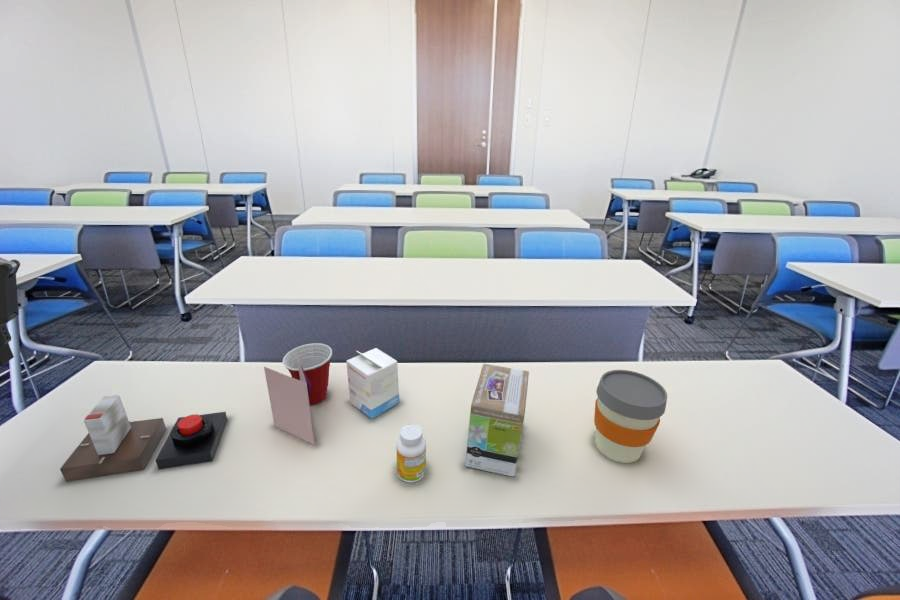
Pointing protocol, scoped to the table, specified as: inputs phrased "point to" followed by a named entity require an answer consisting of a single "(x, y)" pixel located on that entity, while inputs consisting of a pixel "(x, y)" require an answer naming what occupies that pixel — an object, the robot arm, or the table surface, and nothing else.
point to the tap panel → (116, 453)
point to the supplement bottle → (411, 454)
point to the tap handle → (107, 424)
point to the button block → (193, 443)
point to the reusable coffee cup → (627, 414)
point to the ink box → (373, 382)
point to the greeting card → (290, 403)
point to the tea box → (497, 419)
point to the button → (190, 424)
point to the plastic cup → (311, 368)
